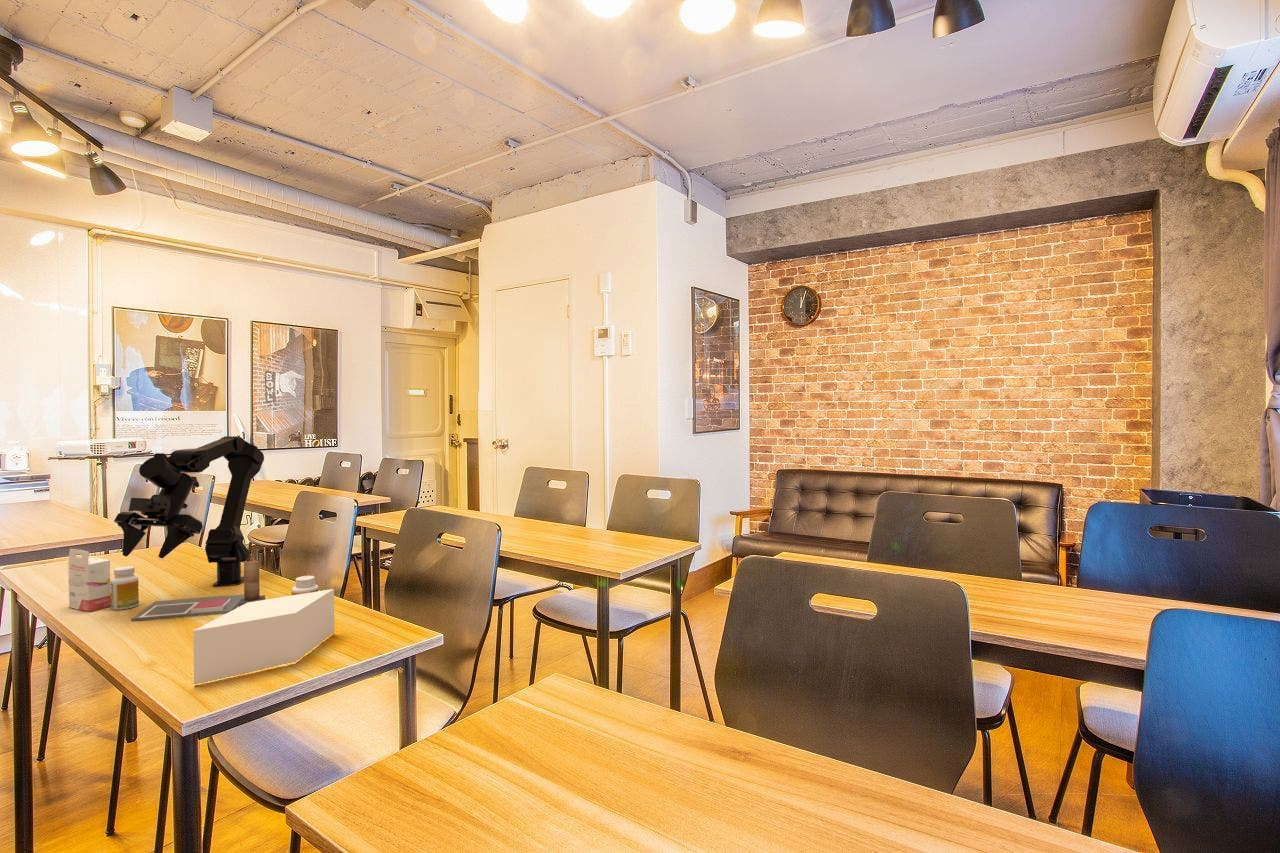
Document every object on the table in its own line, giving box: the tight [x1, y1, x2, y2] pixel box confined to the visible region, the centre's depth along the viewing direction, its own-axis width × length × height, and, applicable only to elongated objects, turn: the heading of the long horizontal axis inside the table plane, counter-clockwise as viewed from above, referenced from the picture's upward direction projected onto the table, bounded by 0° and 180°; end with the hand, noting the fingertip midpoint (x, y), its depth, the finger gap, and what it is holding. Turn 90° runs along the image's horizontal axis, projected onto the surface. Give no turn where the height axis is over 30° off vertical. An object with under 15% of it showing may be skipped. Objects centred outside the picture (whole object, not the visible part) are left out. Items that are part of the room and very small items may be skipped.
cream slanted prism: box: [192, 588, 335, 685], centre depth 126 cm, size 14×29×10 cm, turn 155°
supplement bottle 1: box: [110, 565, 140, 611], centre depth 157 cm, size 5×5×10 cm
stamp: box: [237, 560, 266, 608], centre depth 156 cm, size 5×5×12 cm
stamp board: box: [130, 593, 244, 622], centre depth 156 cm, size 14×20×2 cm
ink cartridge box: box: [67, 548, 111, 613], centre depth 156 cm, size 9×5×15 cm, turn 68°
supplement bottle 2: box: [291, 575, 320, 596], centre depth 147 cm, size 6×6×10 cm
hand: (142, 556), depth 148 cm, fingers open, 9 cm apart
